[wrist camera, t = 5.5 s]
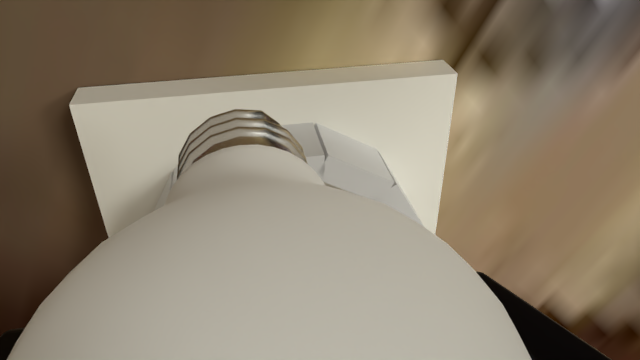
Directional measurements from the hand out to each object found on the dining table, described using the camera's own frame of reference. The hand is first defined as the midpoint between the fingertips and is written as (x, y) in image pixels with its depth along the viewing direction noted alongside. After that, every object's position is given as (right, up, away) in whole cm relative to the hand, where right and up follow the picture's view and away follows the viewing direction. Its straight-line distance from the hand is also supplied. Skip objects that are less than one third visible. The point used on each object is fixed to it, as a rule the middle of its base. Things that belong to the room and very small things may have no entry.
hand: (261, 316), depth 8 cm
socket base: (-1, 0, +15) cm, 16 cm away
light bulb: (-1, +3, +5) cm, 6 cm away
